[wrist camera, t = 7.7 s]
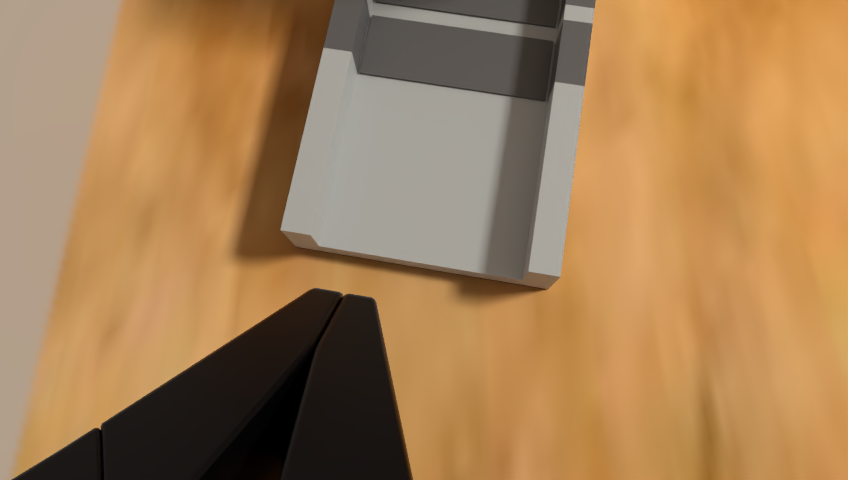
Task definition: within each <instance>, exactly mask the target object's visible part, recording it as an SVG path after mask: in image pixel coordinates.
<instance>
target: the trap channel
mask: <svg viewBox="0 0 848 480" xmlns="http://www.w3.org/2000/svg"><path fill="white" fill-rule="evenodd" d="M595 1H596V0H335V1H334V5H333V10H332V14H331V18H330V22H329V26H328V31H327V35H326V39H325V43H324V48H323V52H322V56H321V60H320V64H319V69H318V73H317V77H316V81H315V85H314V90H313V94H312V98H311V102H310V107H309V111H308V115H307V119H306V123H305V128H304V132H303V136H302V140H301V144H300V149H299V153H298V157H297V161H296V165H295V170H294V174H293V178H292V182H291V187H290V191H289V195H288V199H287V203H286V208H285V212H284V216H283V220H282V224H281V229H280V230H281V231H282V233H283V234H284V235H285V236H286V237H287V238H288V239H289V240H290V241H291V242H292V243H293V244H294V245H295V247H300V248H306V249H312V250H318V251H324V252H330V253H336V254H342V255H348V256H354V257H360V258H366V259H372V260H378V261H383V262H389V263H395V264H401V265H407V266H413V267H419V268H425V269H431V270H437V271H443V272H449V273H455V274H461V275H467V276H473V277H479V278H484V279H490V280H496V281H502V282H508V283H514V284H520V285H526V286H532V287H538V288H544V289H549V288H550V287H551V286H552V285H553V284H554V283H555V282H556V281H557V280H558V279H559V278H560V275H561V267H562V259H563V252H564V244H565V236H566V228H567V220H568V212H569V205H570V197H571V189H572V181H573V173H574V165H575V157H576V150H577V142H578V134H579V126H580V118H581V110H582V103H583V95H584V87H585V79H586V71H587V63H588V55H589V48H590V40H591V32H592V24H593V16H594V8H595Z"/></svg>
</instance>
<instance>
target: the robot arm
mask: <svg viewBox="0 0 848 480" xmlns="http://www.w3.org/2000/svg"><path fill="white" fill-rule="evenodd" d="M12 480H413V477H412V473H411V468H410V463H409V458H408V453H407V449H406V444H405V439H404V434H403V429H402V425H401V420H400V415H399V410H398V405H397V401H396V396H395V391H394V386H393V381H392V377H391V372H390V367H389V362H388V357H387V353H386V348H385V343H384V338H383V333H382V329H381V324H380V319H379V314H378V309H377V305H376V301H375V299H373V298H371V297H366V296H360V295H354V294H347V295H345V296H344V297H343V295H342V294H341V293H340V292H336V291H331V290H325V289H319V288H314V289H311V290H309V291H307V292H306V293H304V294H303V295H301V296H300V297H298V298H297V299H295V300H293V301H292V302H290V303H289V304H287V305H286V306H284V307H283V308H281V309H279V310H278V311H276V312H275V313H273V314H272V315H270V316H269V317H267V318H265V319H264V320H262V321H261V322H259V323H258V324H256V325H255V326H253V327H251V328H250V329H248V330H247V331H245V332H244V333H242V334H241V335H239V336H237V337H236V338H234V339H233V340H231V341H230V342H228V343H227V344H225V345H223V346H222V347H220V348H219V349H217V350H216V351H214V352H213V353H211V354H209V355H208V356H206V357H205V358H203V359H202V360H200V361H199V362H197V363H195V364H194V365H192V366H191V367H189V368H188V369H186V370H185V371H183V372H181V373H180V374H178V375H177V376H175V377H174V378H172V379H171V380H169V381H167V382H166V383H164V384H163V385H161V386H160V387H158V388H157V389H155V390H153V391H152V392H150V393H149V394H147V395H146V396H144V397H143V398H141V399H139V400H138V401H136V402H135V403H133V404H132V405H130V406H129V407H127V408H125V409H124V410H122V411H121V412H119V413H118V414H116V415H115V416H113V417H111V418H110V419H108V420H107V421H105V422H104V423H102V425H101V430H100V429H99V428H94V429H92V430H91V431H89V432H88V433H86V434H85V435H83V436H81V437H80V438H78V439H77V440H75V441H74V442H72V443H71V444H69V445H67V446H66V447H64V448H63V449H61V450H59V451H58V452H56V453H55V454H53V455H51V456H50V457H48V458H46V459H45V460H43V461H41V462H40V463H38V464H37V465H35V466H33V467H32V468H30V469H28V470H27V471H25V472H24V473H22V474H20V475H19V476H17V477H15V478H14V479H12Z"/></svg>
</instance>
